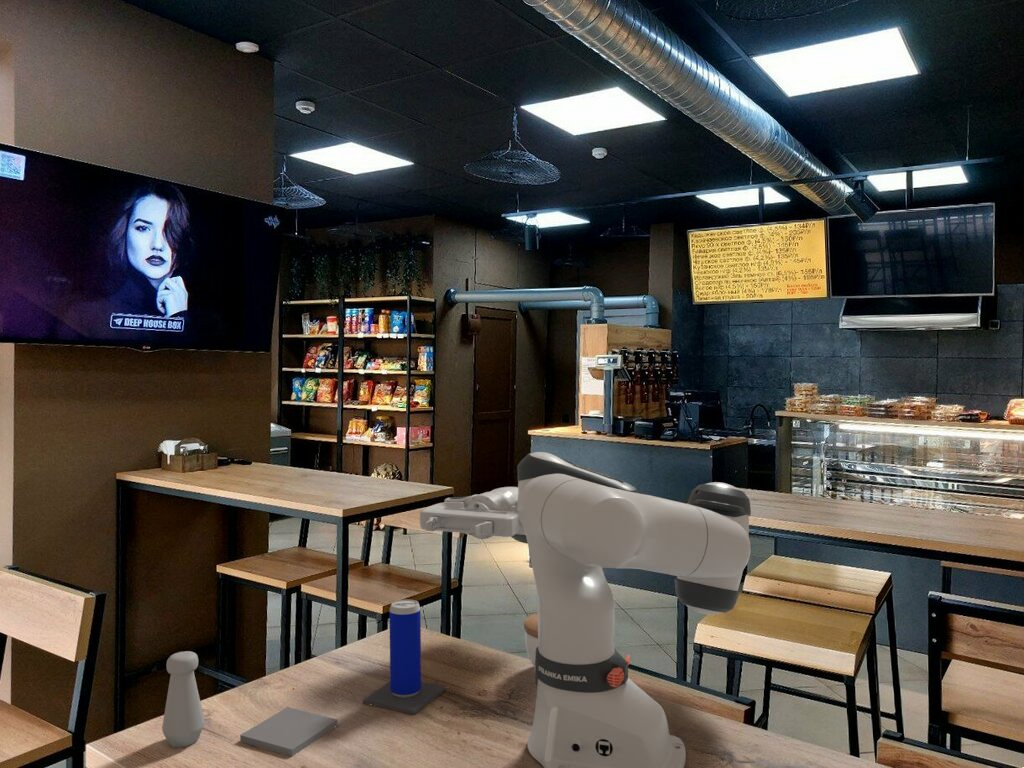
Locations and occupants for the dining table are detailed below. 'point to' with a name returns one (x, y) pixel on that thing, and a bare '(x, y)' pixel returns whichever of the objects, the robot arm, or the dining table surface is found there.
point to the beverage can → (405, 648)
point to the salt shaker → (182, 701)
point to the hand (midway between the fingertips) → (450, 528)
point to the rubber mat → (409, 704)
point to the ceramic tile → (288, 731)
